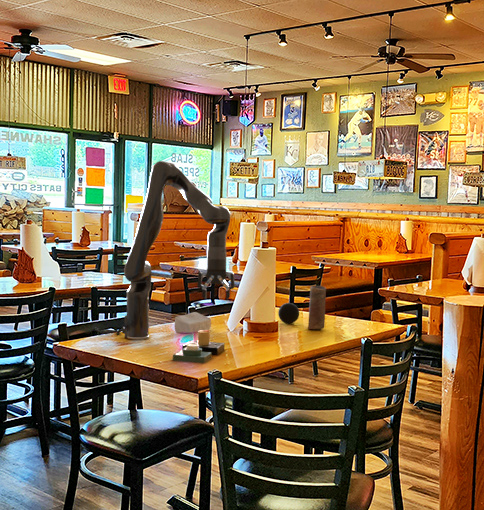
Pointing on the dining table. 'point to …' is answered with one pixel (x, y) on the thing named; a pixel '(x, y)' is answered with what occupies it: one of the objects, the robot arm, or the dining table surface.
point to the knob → (203, 337)
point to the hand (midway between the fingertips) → (215, 299)
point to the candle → (317, 307)
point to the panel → (208, 347)
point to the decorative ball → (288, 313)
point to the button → (192, 347)
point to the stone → (192, 323)
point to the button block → (192, 356)
